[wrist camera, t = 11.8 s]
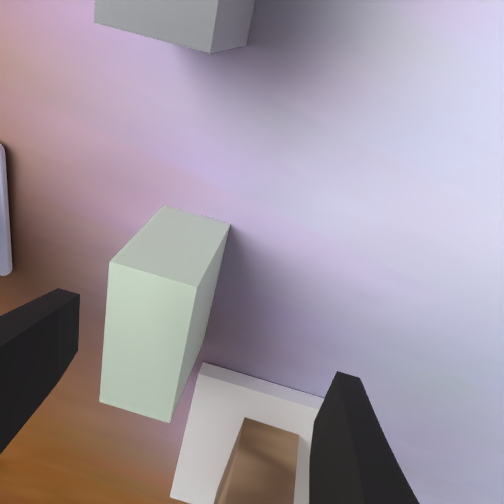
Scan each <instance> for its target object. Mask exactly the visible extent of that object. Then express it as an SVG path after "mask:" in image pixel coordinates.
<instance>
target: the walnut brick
mask: <svg viewBox="0 0 504 504" xmlns="http://www.w3.org/2000/svg"><path fill="white" fill-rule="evenodd" d="M298 443H299V435H298V434H295V433H292V432H289V431H286V430H283V429H280V428H277V427H274V426H271V425H268V424H264V423H261V422H258V421H255V420H252V419H249V418H246V417H244V420H243V423H242V425H241V428H240V431H239V433H238V436H237V438H236V441H235V444H234V446H233V449H232V452H231V454H230V457H229V459H228V462H227V465H226V467H225V470H224V473H223V475H222V478H221V481H220V483H219V486H218V488H217V492H216V496H215V500H214V504H294V491H295V479H296V467H297V455H298Z"/></svg>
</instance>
